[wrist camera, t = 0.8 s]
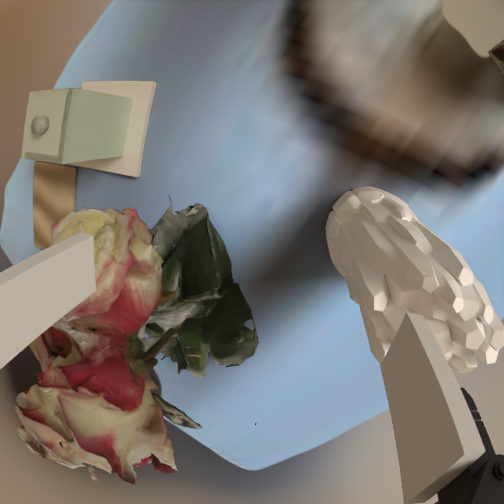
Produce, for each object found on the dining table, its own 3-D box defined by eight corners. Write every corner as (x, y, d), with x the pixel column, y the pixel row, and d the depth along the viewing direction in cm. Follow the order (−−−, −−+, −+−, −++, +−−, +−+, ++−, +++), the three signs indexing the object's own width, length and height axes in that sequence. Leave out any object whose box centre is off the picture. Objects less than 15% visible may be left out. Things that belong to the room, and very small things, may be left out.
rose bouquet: (193, 164, 36) (-36, 226, 8) (273, 354, 43) (227, 546, 15) (68, 231, 43) (-78, 309, 15) (144, 373, 50) (61, 495, 23)
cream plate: (86, 82, 34) (72, 80, 31) (157, 82, 33) (144, 78, 30) (73, 163, 39) (59, 166, 36) (139, 176, 38) (126, 179, 35)
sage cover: (90, 97, 34) (22, 91, 22) (133, 98, 33) (65, 86, 21) (82, 150, 37) (14, 159, 25) (123, 156, 36) (54, 165, 24)
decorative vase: (319, 265, 37) (324, 428, 14) (331, 180, 34) (381, 245, 10) (398, 275, 36) (476, 423, 13) (415, 195, 32) (554, 275, 9)
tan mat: (37, 160, 40) (34, 161, 39) (77, 167, 39) (75, 168, 38) (36, 245, 46) (34, 246, 45) (75, 261, 45) (72, 262, 44)
